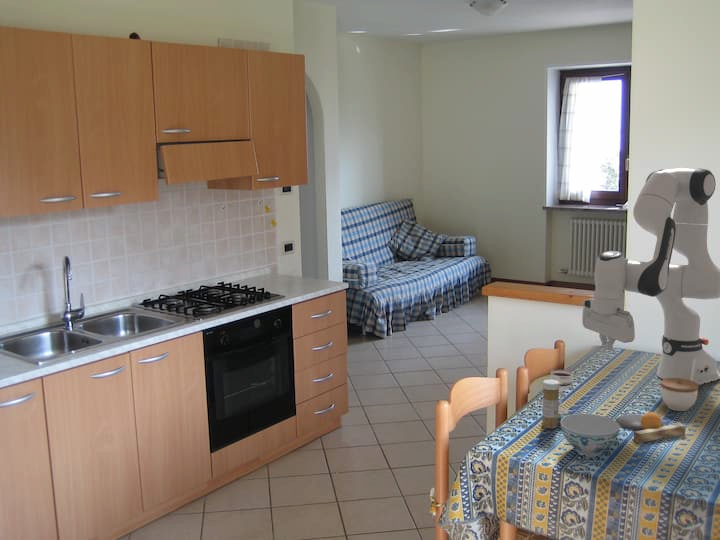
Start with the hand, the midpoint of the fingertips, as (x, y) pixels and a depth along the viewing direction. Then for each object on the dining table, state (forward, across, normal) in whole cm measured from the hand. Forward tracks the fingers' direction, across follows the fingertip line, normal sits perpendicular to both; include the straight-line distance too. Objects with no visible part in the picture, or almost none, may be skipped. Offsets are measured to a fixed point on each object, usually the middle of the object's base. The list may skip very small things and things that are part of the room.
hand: (607, 349), depth 237 cm
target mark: (+17, -18, +2) cm, 25 cm away
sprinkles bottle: (+17, -9, +27) cm, 33 cm away
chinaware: (+17, -28, +28) cm, 43 cm away
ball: (+14, -24, +3) cm, 28 cm away
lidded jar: (+18, -12, -18) cm, 28 cm away
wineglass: (+17, 0, +17) cm, 24 cm away
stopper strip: (+17, -28, +4) cm, 33 cm away
